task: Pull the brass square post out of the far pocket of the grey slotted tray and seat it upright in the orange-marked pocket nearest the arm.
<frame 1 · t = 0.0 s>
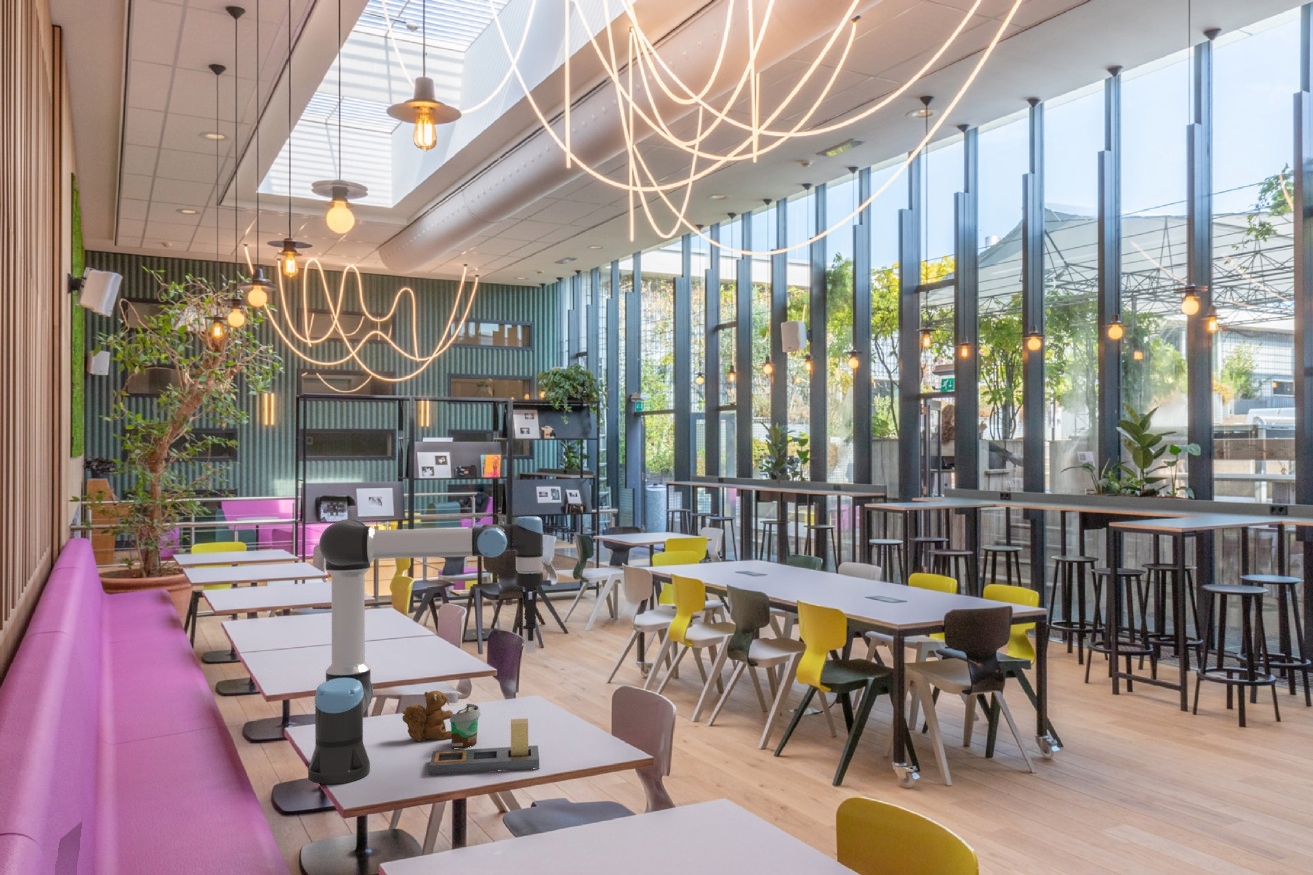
hand: (529, 647, 262), 28 cm above the table, tool pointing down, fingers open, 13 cm apart
brass post: (519, 762, 249), resting in grey slotted tray
food container: (469, 745, 266), on the table
grey slotted tray: (485, 764, 248), on the table
stuffed squirrel: (428, 738, 273), on the table
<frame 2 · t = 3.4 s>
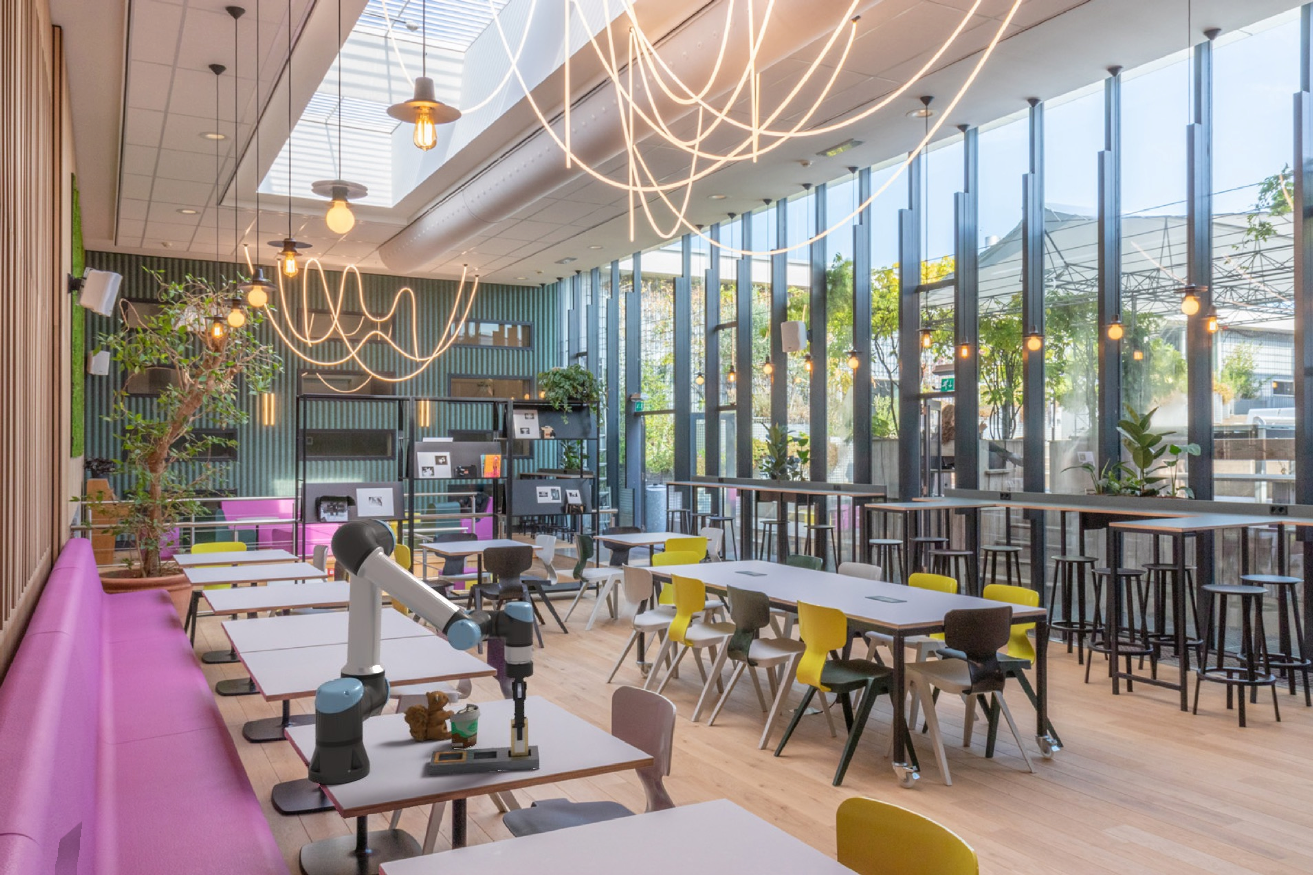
hand: (519, 748, 249), 4 cm above the table, tool pointing down, fingers closed on brass post, 4 cm apart
brass post: (519, 762, 249), resting in grey slotted tray, touching gripper
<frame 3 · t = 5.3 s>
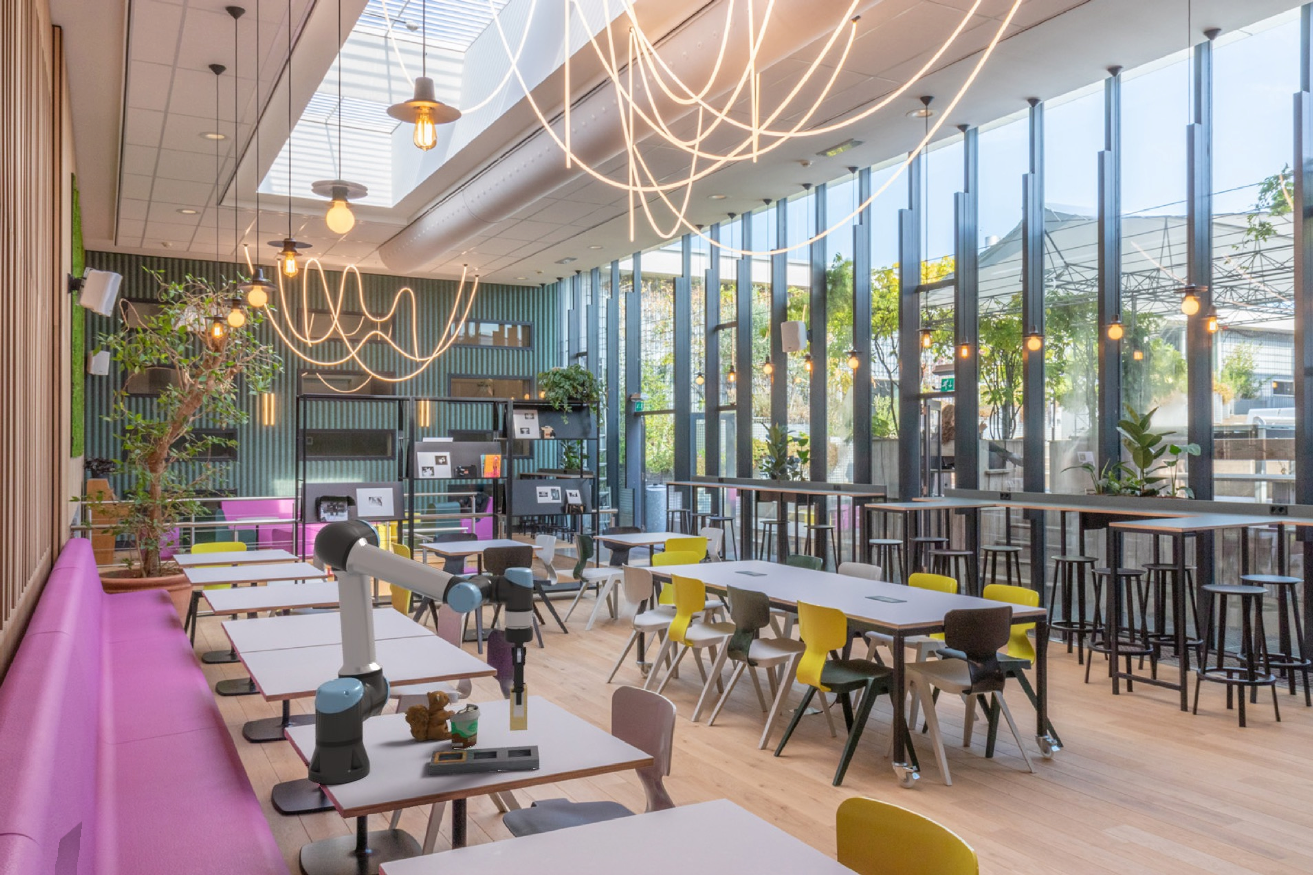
hand: (518, 713, 249), 13 cm above the table, tool pointing down, fingers closed on brass post, 4 cm apart
brass post: (518, 727, 249), point 9 cm above the table, touching gripper
everything else where it was.
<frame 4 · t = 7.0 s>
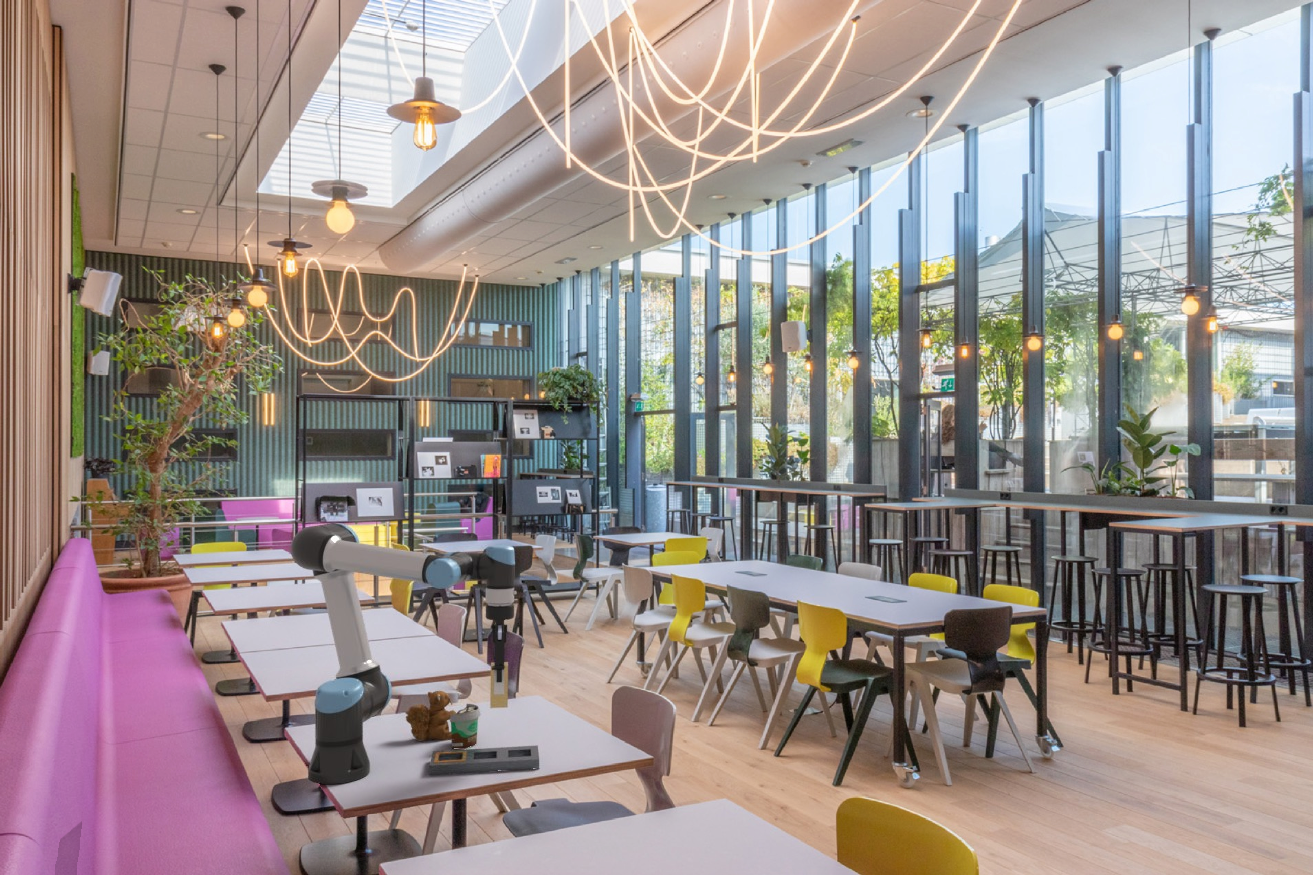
hand: (498, 691, 249), 19 cm above the table, tool pointing down, fingers closed on brass post, 4 cm apart
brass post: (498, 705, 249), point 15 cm above the table, touching gripper
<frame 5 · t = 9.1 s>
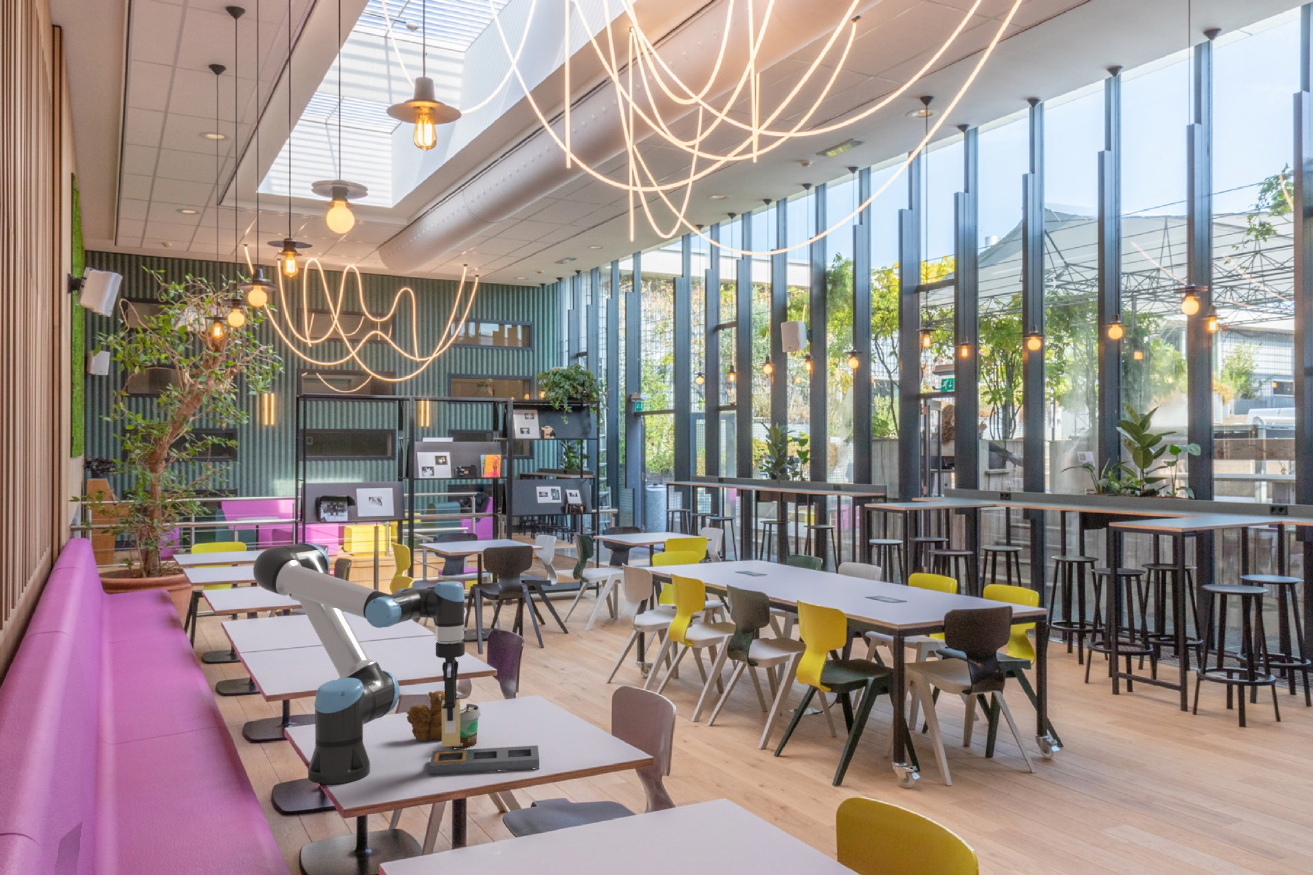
hand: (451, 729, 246), 10 cm above the table, tool pointing down, fingers closed on brass post, 4 cm apart
brass post: (451, 743, 246), point 6 cm above the table, touching gripper
when the fingers open (5 cm above the table, at t = 10.8 s): brass post drops 1 cm, resting in grey slotted tray.
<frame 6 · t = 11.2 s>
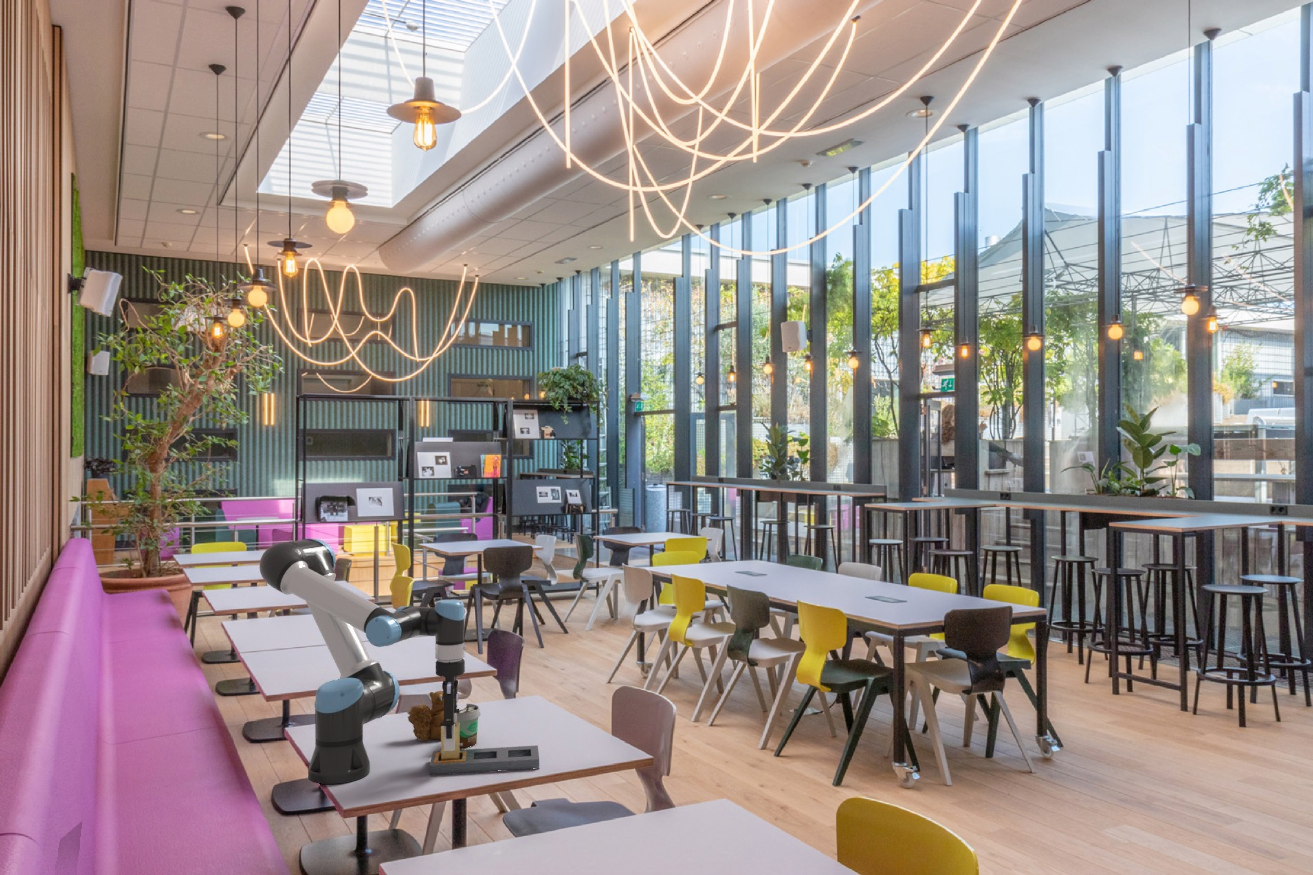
hand: (450, 744, 246), 6 cm above the table, tool pointing down, fingers open, 10 cm apart
brass post: (450, 766, 246), resting in grey slotted tray
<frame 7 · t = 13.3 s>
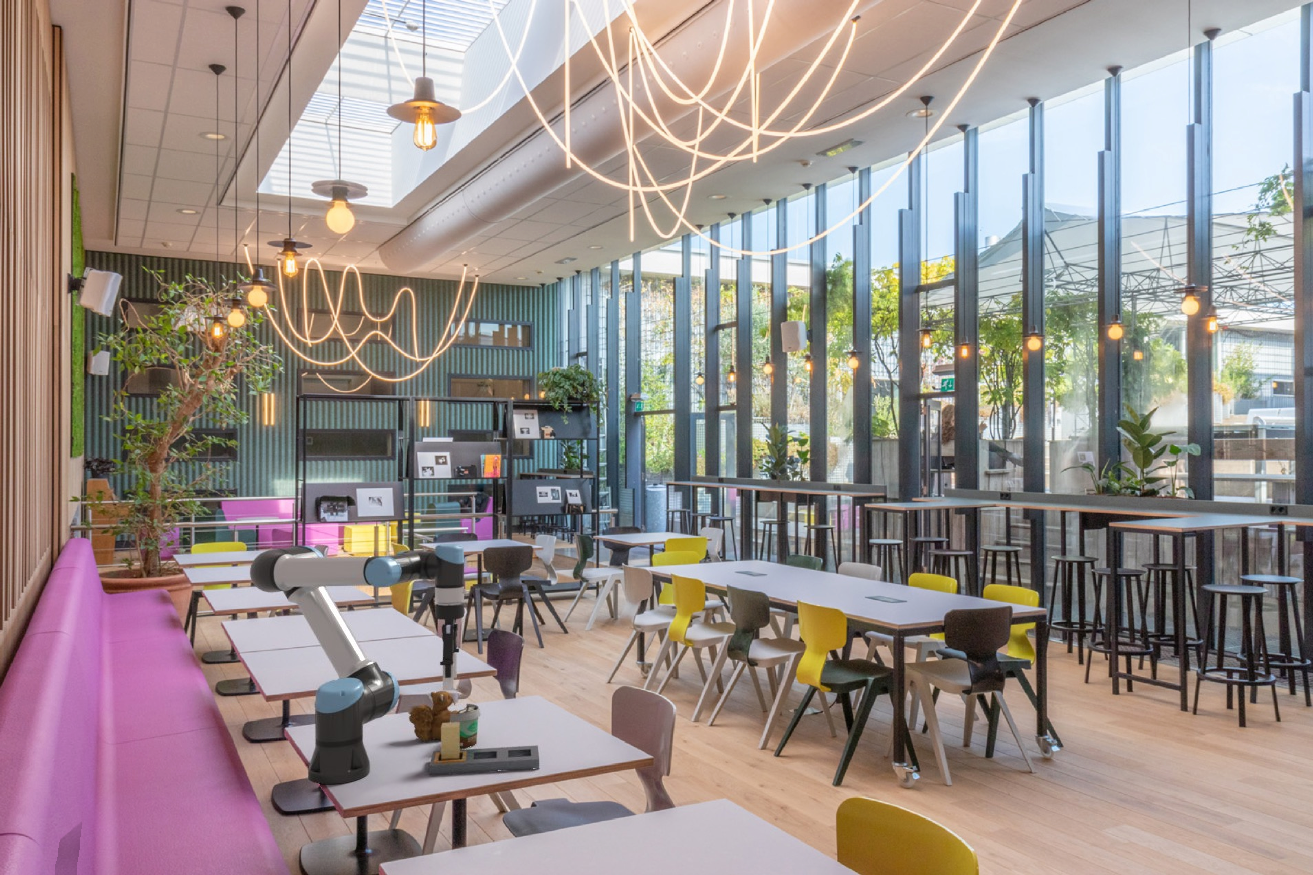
hand: (449, 683, 247), 22 cm above the table, tool pointing down, fingers open, 13 cm apart
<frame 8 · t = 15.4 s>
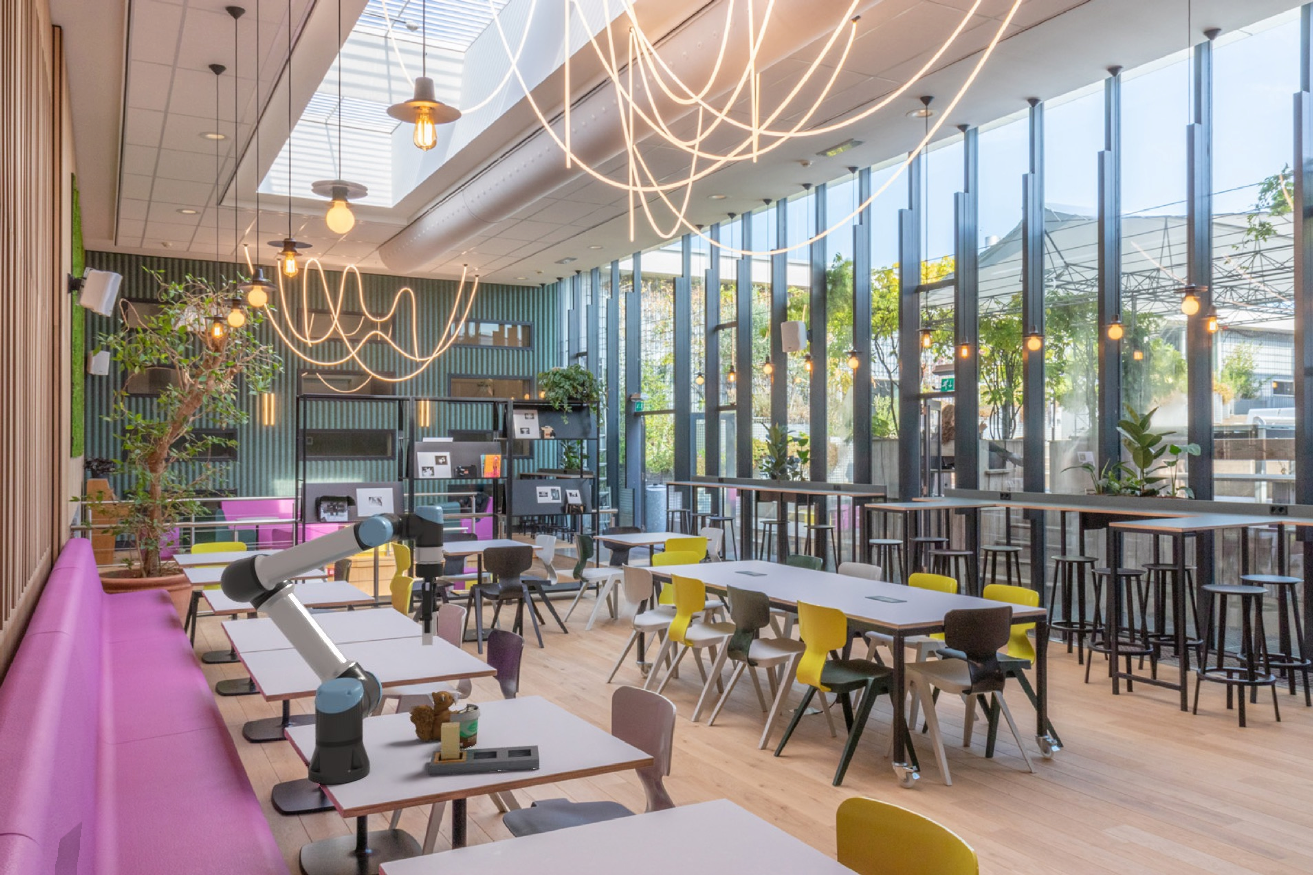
hand: (429, 640, 255), 32 cm above the table, tool pointing down, fingers open, 13 cm apart
at the end: brass post 0.0 cm from the target spot on the grey slotted tray, point 0.0 cm above the grey slotted tray's base; brass post tilted 0°; the gripper is holding nothing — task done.
